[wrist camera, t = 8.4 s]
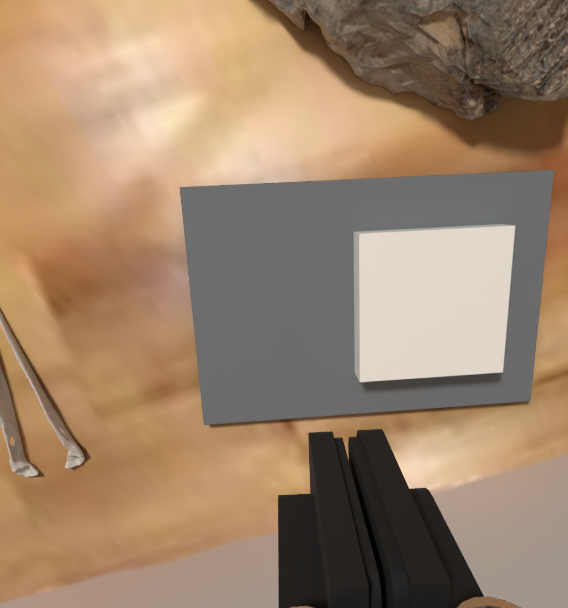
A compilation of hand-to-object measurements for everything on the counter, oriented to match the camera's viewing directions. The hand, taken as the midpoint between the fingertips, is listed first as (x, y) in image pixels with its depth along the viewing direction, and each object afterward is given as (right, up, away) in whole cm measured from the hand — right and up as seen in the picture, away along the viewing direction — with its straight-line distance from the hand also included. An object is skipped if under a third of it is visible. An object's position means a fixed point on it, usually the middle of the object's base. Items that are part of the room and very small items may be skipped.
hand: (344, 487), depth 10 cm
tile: (+3, +4, +16) cm, 17 cm away
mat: (+4, +4, +17) cm, 18 cm away
